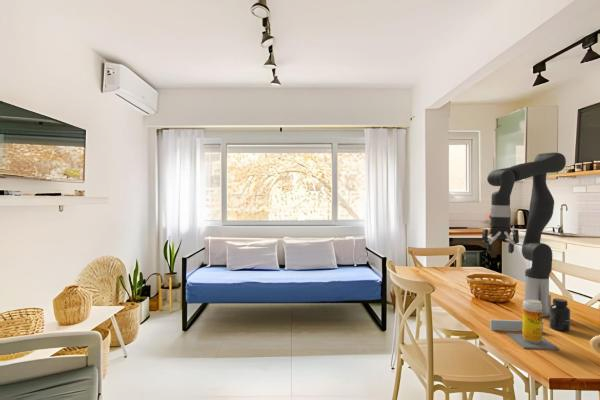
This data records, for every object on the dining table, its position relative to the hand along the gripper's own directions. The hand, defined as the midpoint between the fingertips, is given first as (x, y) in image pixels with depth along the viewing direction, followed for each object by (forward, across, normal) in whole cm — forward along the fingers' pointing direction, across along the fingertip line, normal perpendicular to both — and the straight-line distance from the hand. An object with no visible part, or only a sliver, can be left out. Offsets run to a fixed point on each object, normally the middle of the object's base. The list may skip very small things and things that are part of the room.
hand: (500, 252), depth 149 cm
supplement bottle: (+30, -21, +6) cm, 37 cm away
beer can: (+30, -2, +21) cm, 36 cm away
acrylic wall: (+30, -2, +10) cm, 32 cm away
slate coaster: (+30, -2, +21) cm, 37 cm away
